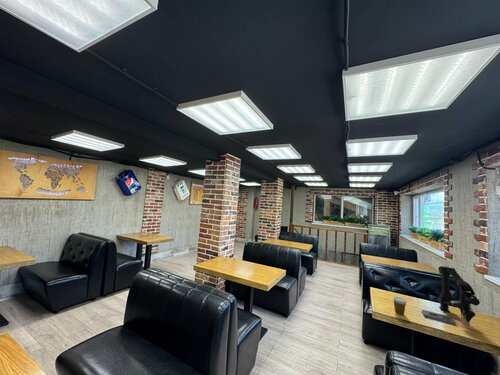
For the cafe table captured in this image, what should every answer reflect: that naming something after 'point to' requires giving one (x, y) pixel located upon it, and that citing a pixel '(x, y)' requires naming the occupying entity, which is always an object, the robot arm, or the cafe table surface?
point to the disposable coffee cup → (399, 305)
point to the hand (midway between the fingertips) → (465, 319)
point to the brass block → (464, 320)
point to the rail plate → (438, 317)
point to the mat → (465, 326)
